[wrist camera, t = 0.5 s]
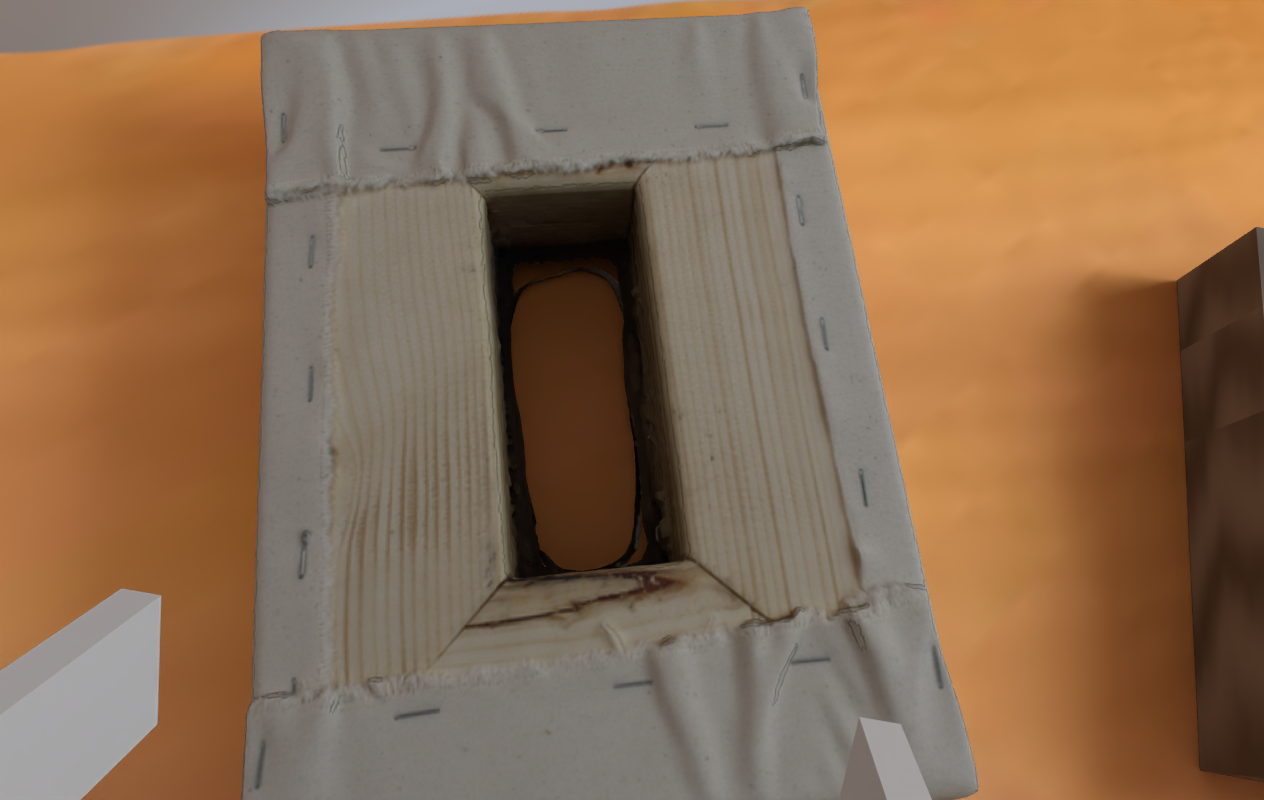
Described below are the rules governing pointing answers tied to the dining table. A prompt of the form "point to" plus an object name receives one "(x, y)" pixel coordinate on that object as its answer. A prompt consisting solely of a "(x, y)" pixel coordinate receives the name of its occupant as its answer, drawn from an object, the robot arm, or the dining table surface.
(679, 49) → the slotted block
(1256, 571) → the block
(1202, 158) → the dining table surface
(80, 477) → the dining table surface
